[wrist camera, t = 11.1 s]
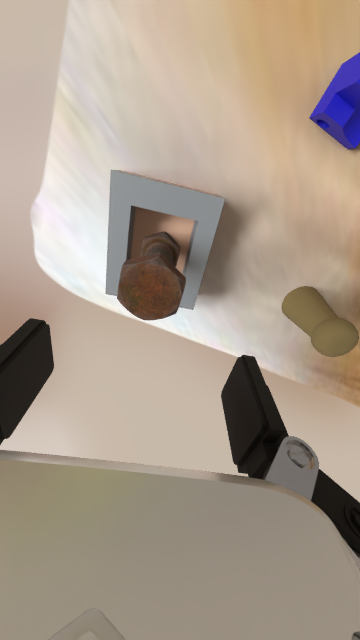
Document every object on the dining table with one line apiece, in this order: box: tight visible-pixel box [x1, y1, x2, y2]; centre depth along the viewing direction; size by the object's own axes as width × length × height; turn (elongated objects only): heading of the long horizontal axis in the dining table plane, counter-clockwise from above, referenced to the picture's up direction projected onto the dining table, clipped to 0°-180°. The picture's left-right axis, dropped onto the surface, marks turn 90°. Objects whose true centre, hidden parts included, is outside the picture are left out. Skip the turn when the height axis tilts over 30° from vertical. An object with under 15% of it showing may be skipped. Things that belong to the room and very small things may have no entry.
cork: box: [282, 286, 359, 357], centre depth 32 cm, size 6×6×11 cm
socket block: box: [106, 170, 225, 310], centre depth 29 cm, size 12×14×5 cm
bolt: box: [117, 231, 186, 320], centre depth 24 cm, size 6×5×15 cm
